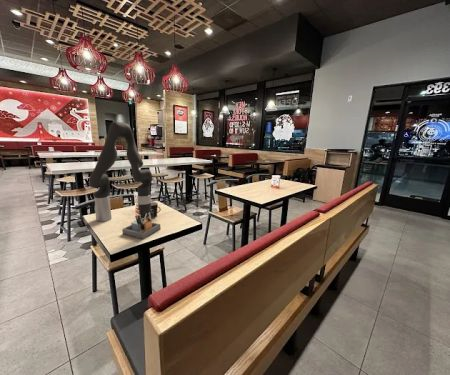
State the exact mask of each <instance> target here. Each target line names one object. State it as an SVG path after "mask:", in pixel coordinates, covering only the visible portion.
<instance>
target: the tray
mask: <svg viewBox="0 0 450 375" xmlns="http://www.w3.org/2000/svg"><path fill="white" fill-rule="evenodd" d="M121 230H122V235H124V236H128V237H131V238H132V237H133V238H135V239H140V240H145V239H146V238H148V237H149V236H151V235H153V234H154V233H156V232H158V231H160V230H161V224H160V223H157V222H152V228H151V229H149V230H147V231H145V232H144V231H138V232H137V231H133V230H132V225H131V224H130V225H128V226H126V227H123V228H122V229H121Z"/></svg>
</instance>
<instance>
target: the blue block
mask: <svg viewBox="0 0 450 375" xmlns="http://www.w3.org/2000/svg"><path fill="white" fill-rule="evenodd" d="M130 225H132V230H133V231H137V232H138V231H140V224H137V221H136V220H135V221H133V222H131V223H130Z"/></svg>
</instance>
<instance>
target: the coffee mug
mask: <svg viewBox="0 0 450 375" xmlns="http://www.w3.org/2000/svg"><path fill="white" fill-rule="evenodd" d="M158 205H159V203H158V202H156V201H155V202H154V201H151V209H153V210H154V218H153V219H155V218H156V217H158V213H160V211H161V210H162V209H161V207H160V206H158ZM158 209H159V210H158ZM151 217H152V215H151Z"/></svg>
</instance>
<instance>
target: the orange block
mask: <svg viewBox="0 0 450 375" xmlns="http://www.w3.org/2000/svg"><path fill="white" fill-rule="evenodd" d="M152 223H153V221H152V220H151V221H147V219H145V221H144V230H141V227H140V231H144V232H145V231H147V230H149V229H151V228H152Z"/></svg>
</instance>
